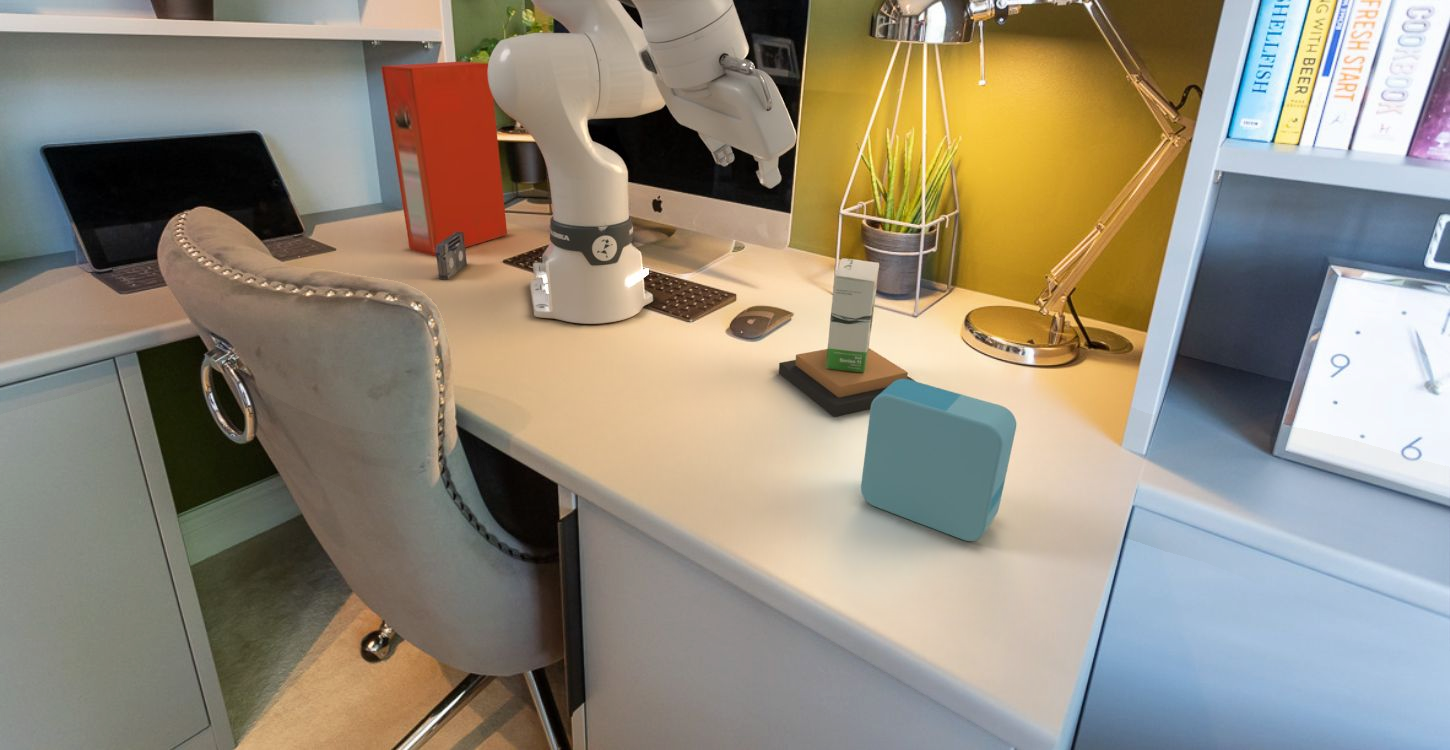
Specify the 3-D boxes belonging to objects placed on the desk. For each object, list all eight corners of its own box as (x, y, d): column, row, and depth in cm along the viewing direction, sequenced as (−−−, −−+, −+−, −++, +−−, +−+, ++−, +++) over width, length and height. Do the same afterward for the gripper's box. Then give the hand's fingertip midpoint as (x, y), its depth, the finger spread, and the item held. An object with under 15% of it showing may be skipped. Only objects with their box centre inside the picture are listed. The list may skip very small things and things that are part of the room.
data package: (996, 523, 73) (1020, 409, 68) (980, 547, 70) (1005, 430, 65) (877, 480, 79) (891, 373, 74) (858, 501, 76) (871, 390, 70)
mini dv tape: (458, 264, 138) (454, 231, 136) (466, 265, 138) (463, 231, 136) (439, 279, 131) (434, 244, 129) (448, 279, 131) (443, 244, 128)
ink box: (865, 374, 95) (875, 280, 90) (824, 369, 96) (832, 276, 91) (870, 347, 102) (880, 259, 97) (832, 342, 103) (840, 255, 98)
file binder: (408, 249, 146) (380, 65, 132) (478, 229, 159) (459, 60, 146) (439, 256, 142) (413, 68, 129) (507, 235, 156) (491, 63, 142)
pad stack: (778, 373, 102) (779, 351, 100) (860, 357, 107) (863, 336, 106) (834, 417, 91) (836, 394, 90) (922, 397, 96) (925, 375, 95)
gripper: (786, 45, 68) (828, 181, 76) (679, 22, 83) (725, 137, 92) (728, 82, 66) (778, 216, 75) (630, 52, 82) (681, 165, 91)
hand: (748, 172), depth 84 cm, fingers open, 8 cm apart
